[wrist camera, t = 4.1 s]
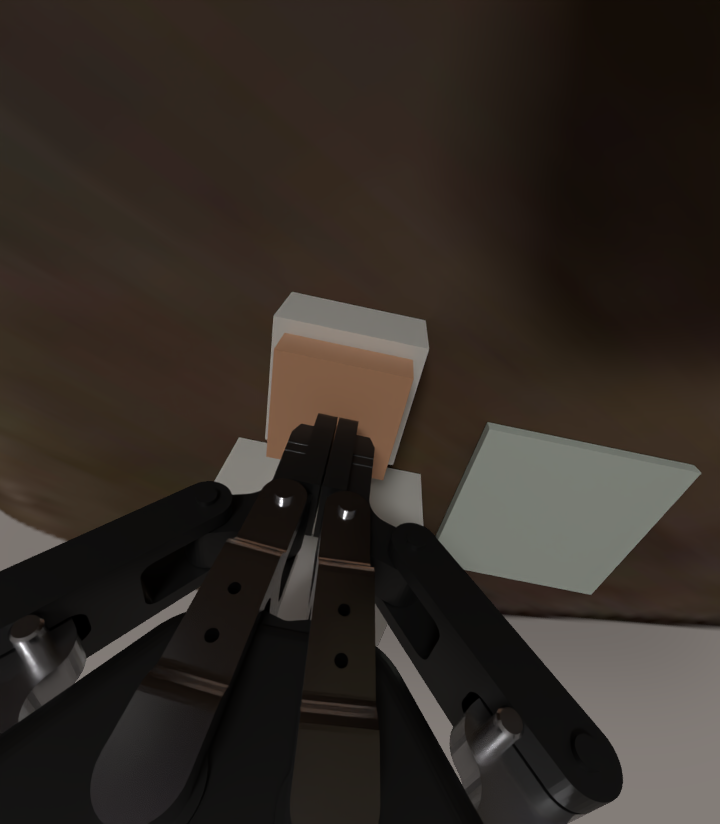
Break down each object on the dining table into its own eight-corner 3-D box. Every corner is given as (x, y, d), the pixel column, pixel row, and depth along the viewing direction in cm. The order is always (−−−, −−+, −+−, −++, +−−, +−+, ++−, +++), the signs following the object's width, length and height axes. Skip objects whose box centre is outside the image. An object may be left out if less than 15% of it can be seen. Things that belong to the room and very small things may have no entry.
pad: (694, 465, 21) (701, 473, 20) (587, 586, 27) (591, 594, 26) (487, 422, 20) (489, 429, 20) (427, 554, 26) (427, 562, 26)
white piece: (473, 330, 18) (492, 380, 14) (381, 580, 28) (377, 645, 25) (242, 281, 17) (198, 317, 14) (236, 552, 28) (211, 613, 24)
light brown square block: (411, 330, 18) (413, 378, 14) (386, 419, 21) (383, 480, 17) (301, 306, 18) (273, 349, 14) (291, 400, 20) (266, 456, 17)
